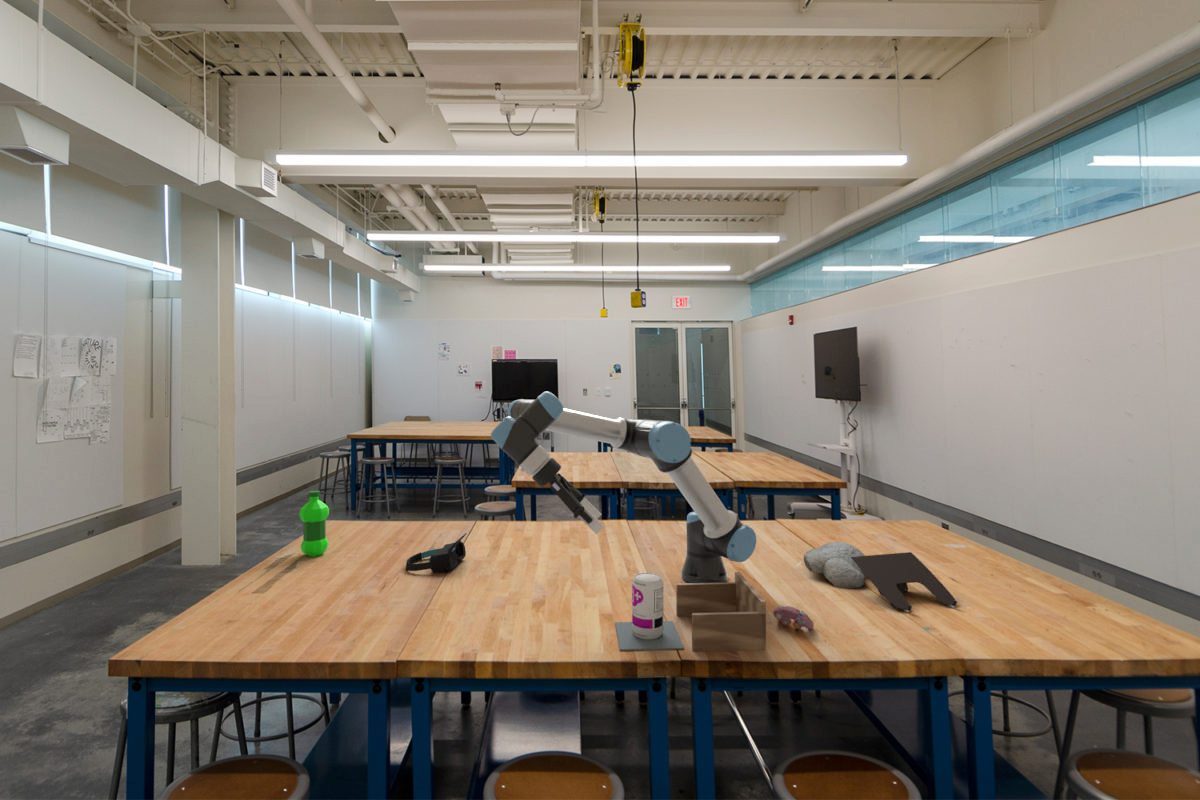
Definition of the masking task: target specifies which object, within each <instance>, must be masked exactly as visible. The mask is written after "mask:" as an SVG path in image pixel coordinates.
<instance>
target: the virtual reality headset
mask: <svg viewBox="0 0 1200 800" xmlns="http://www.w3.org/2000/svg"><path fill="white" fill-rule="evenodd" d="M466 535H467V533H464V534H463V535H462V536H461V537H459V538H458V539H457V540H456V541H455V542H452V543H447V544H444V545H443V547H440V548H434V549H429V550H426V551H422V552H418V553H416V554H413V555H412V556H410V557H408V558H407V560H406V563H405V570H406V571H409V572H418V571H424V570H431V572H432V573H444V572H445V573H446V572H449V571H452V570H454V568H455V567H456V566H457V565H459V564H460V563H461V561H463V560H464V558H466V556H467V555H466V553H467V551H466V545H465V544H464V542H463V541H462V539H463V538H465V536H466ZM425 558H429V561H428V562H421V563H419V562H420V561H421V560H423V559H425ZM417 562H418V563H417Z"/></svg>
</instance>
